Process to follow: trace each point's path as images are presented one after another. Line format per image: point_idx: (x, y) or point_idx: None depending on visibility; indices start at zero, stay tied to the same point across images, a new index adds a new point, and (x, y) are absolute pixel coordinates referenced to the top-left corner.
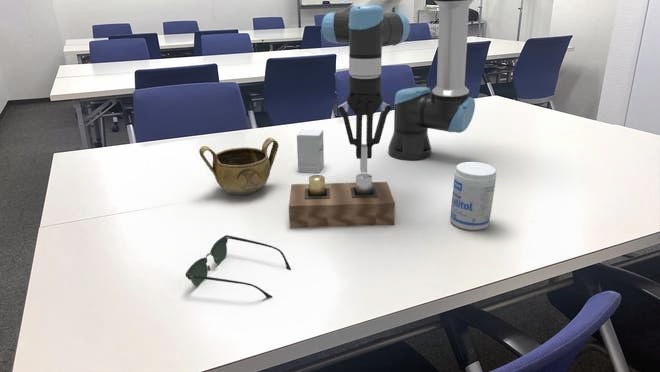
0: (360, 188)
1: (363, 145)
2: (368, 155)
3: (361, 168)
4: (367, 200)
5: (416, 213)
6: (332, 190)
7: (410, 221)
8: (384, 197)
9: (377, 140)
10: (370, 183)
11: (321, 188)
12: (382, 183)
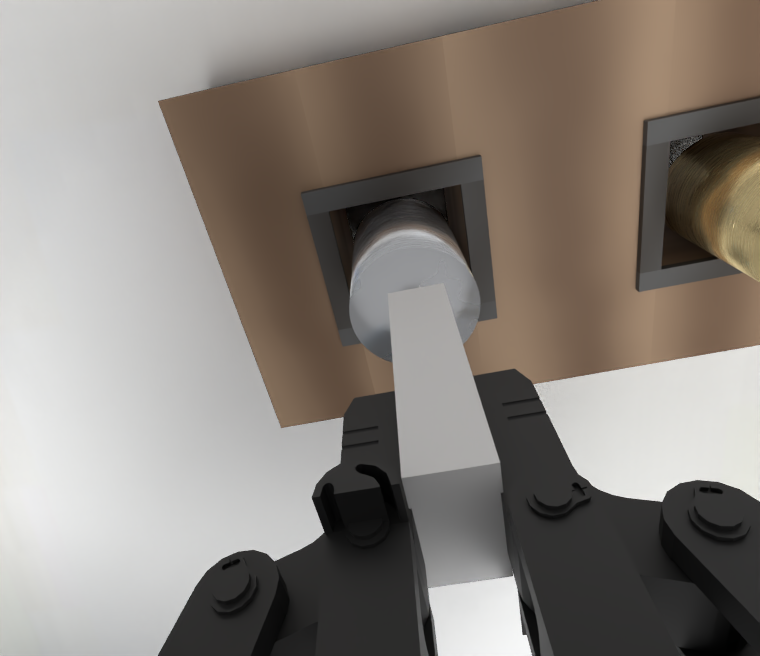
0: (430, 223)
1: (468, 540)
2: (382, 416)
3: (445, 299)
4: (366, 123)
5: (122, 253)
6: (616, 265)
7: (129, 151)
8: (253, 194)
9: (222, 614)
10: (356, 264)
11: (742, 166)
12: (303, 403)
